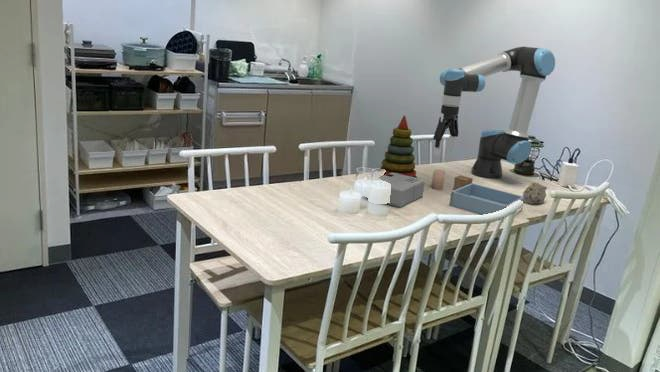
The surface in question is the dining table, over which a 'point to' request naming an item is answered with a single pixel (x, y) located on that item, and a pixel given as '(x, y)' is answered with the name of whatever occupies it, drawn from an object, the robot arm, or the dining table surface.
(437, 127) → the robot arm
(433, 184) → the cylinder
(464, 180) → the cube
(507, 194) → the tote
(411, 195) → the projector
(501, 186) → the dining table surface
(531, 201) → the rock
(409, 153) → the toy
